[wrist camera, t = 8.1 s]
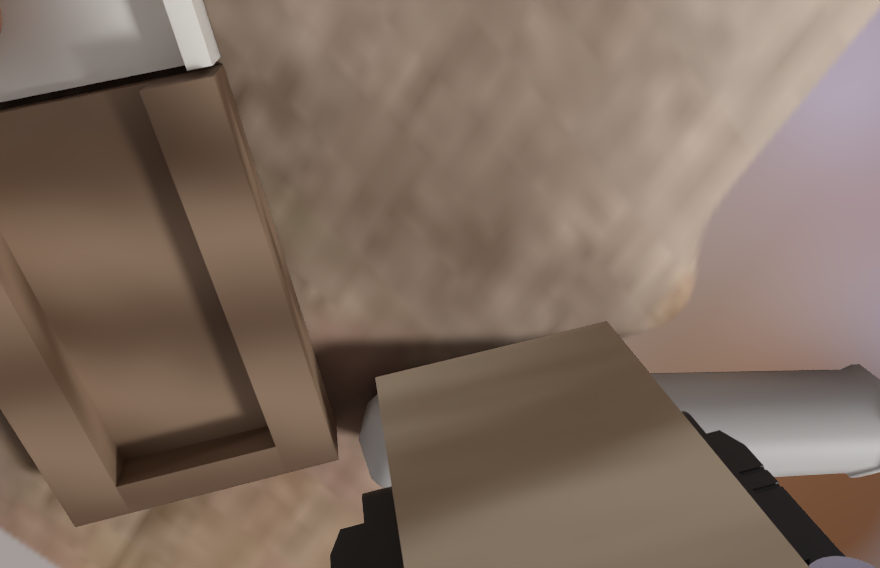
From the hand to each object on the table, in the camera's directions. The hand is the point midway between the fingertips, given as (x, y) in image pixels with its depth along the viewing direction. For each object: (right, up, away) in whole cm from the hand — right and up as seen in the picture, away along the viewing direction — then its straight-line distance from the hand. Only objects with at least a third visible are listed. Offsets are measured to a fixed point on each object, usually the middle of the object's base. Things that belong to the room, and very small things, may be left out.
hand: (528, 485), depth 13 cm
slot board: (-13, +3, +13) cm, 19 cm away
